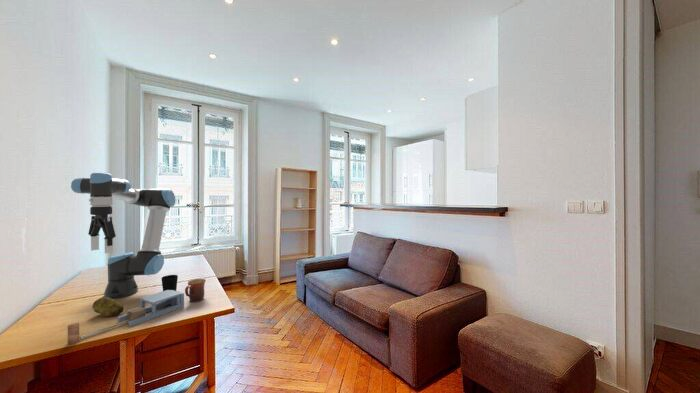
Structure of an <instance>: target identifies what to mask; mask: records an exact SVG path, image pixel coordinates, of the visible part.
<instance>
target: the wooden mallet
mask: <svg viewBox="0 0 700 393" xmlns="http://www.w3.org/2000/svg"><path fill="white" fill-rule="evenodd" d="M145 308H146V307H145ZM145 308H142V307H141V306H137V307H134V308H131V309H129V310H127V311H126V314H127V320H124V321H121V322H118V323H114V324H112V325H108V326H106V327H103V328H100V329H97V330H94V331H91V332H88V333H85V334H83V335H80V322H74V323H70V324H68V325H67V345H70V346H71V345H74V344H77V343H79V342H80V339H84V338H86V337H90V336H92V335H96V334H98V333H101V332H104V331H106V330H110V329H113V328H115V327H118V326H121V325H124V324H127V323H128V322H129V321H131V320H134V319H137V318H140V317H142V316H145V315H146V313H145Z"/></svg>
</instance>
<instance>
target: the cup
mask: <svg viewBox="0 0 700 393" xmlns="http://www.w3.org/2000/svg"><path fill="white" fill-rule="evenodd" d="M178 277H179V276H178V275H177V274H168V275H163V276H162V277H161V287H162V291H166V290H174V291H177V287H178Z"/></svg>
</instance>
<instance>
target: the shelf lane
mask: <svg viewBox="0 0 700 393" xmlns="http://www.w3.org/2000/svg"><path fill="white" fill-rule="evenodd" d="M139 300H140V307H142V308H145V316H142V317H140V318H137V319H134V320H131V321H129V322H127V323H128V327H130V328H131V327H133V326H137V325H139V324H141V323H145V322H148V321H149V320H152V319H155V318H158V317H160V316H162V315H165V314H168V313H171V312H173V311H174V312H175V311H176V310H179V309H181V308H184V307H185V292H181V291H178V290H176V291H174V290H166V291H163V290H162V291H160V292H157V293H153V294H150V295H147V296H142V297H140V298H139ZM146 303H147V304H150V305H149V306H146ZM169 305H171V306H169ZM166 306H168V307H166ZM163 307H166V308H163ZM158 309H160V310H158ZM149 312H151V313H149ZM146 313H148V314H146ZM126 320H127V313H126V314H122V315H118V316H117V322H118V323H120V322H123V321H126Z"/></svg>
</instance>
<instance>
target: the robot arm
mask: <svg viewBox="0 0 700 393" xmlns="http://www.w3.org/2000/svg"><path fill="white" fill-rule="evenodd" d="M89 176H90V177H81V178H79V177H78V178H75V179H73V180H72V181H71V185H70V188H71V190H72V192H74V193H76V194H84V195H85V194H89V195H90V199H88V202H89V205H90V206H91V207H90V209H89V212H90V213H89V214H90V215H91V219H90V224H89V229H88V233H87V234H88V236H90V251H97V250H100V231H101V230H102V232H103V235H104V238H103V239H104V254H111V253H114V238H116V231H115V228H114V224H113V217H112V216H109V215H112V214H113V206H112V205H113V200H118V201H122V202H124V203H126V204H129V205H134V206H139V207H146V208H147V209H148V210H149V214H148V218H147V222H146V225H145V232H144V236H143V240H142V245H141V249H139V250H137V253H136V255H135V252H132V251H131V252H125V253H119V254H115V255H112V256H109V257H108V259H107V260H108V261H107V284H106V287H105V289H104V291H103V292H104V293H103V297H108V298H111V299H118V298H123V297H128V296H131V295H133V294H136V293H137V292H138V291H139V286H138V284H137V282H136V280H135V276H151V275H153V276H154V275H158V274H159V273H160V272H161V271H162V269H163V267H164V264H165V256H164V255H163V254H162V252H161V250H160V246H161V241H162V236H163V231H164V225H165V220H166V215H167V213H168V212H169V211H170V209H171V208H172V207H175V204H176V196H175V193H174V191H173V189H170V188H164V187H162V188H135V187H132V185H131V183H130V181H129V180H127V179H124V178H113V176H112V174H111V173H108V172H92V173H90V175H89Z"/></svg>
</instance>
